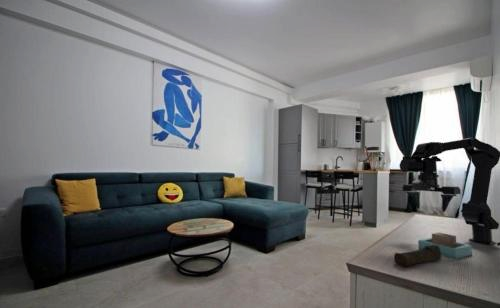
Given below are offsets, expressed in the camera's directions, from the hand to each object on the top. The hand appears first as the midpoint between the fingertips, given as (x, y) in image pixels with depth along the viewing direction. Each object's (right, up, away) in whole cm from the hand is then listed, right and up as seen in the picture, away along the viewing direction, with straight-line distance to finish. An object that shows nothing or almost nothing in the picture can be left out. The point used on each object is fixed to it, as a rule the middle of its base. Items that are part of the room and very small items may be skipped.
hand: (430, 210), depth 94 cm
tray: (-5, -12, -13) cm, 18 cm away
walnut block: (-5, -11, -13) cm, 18 cm away
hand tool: (-22, -11, -23) cm, 33 cm away
